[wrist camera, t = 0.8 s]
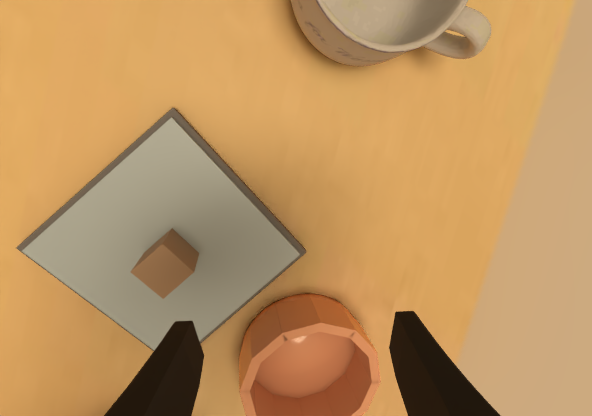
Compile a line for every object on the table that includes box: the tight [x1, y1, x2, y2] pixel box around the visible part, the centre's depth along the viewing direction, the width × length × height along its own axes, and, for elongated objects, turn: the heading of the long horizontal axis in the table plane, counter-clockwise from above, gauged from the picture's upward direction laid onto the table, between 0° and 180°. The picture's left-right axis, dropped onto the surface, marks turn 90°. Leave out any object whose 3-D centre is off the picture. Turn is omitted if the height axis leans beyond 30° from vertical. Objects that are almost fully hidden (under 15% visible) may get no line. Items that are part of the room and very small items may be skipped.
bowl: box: [239, 294, 381, 416], centre depth 30 cm, size 12×12×5 cm
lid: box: [22, 117, 300, 351], centre depth 24 cm, size 15×15×4 cm
